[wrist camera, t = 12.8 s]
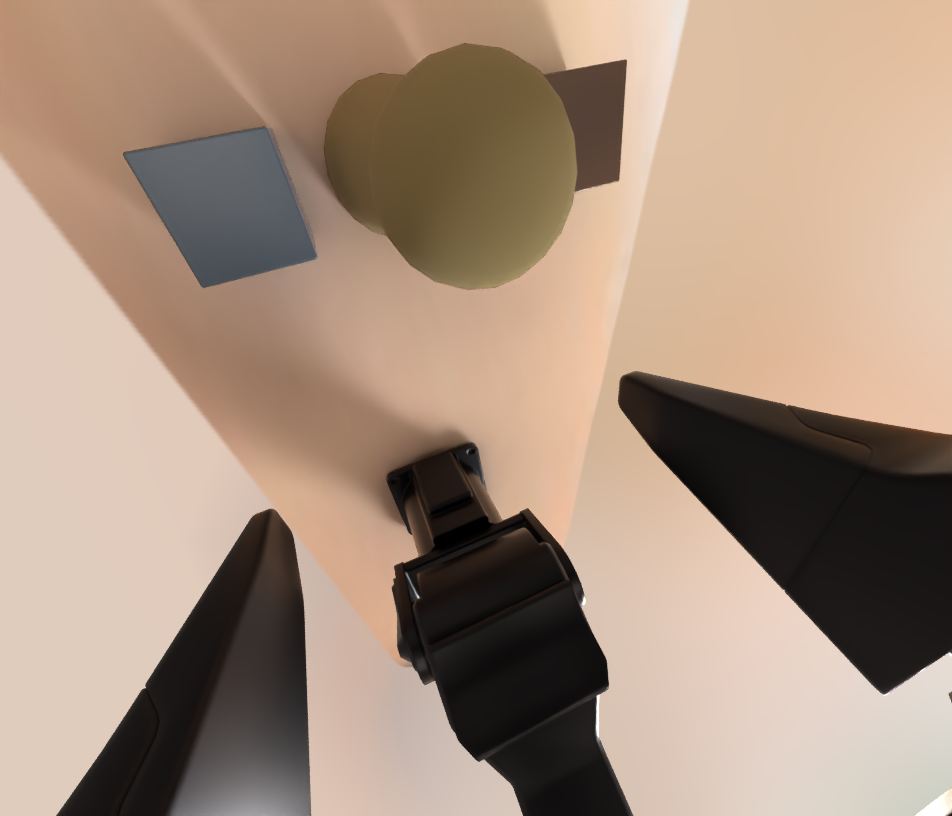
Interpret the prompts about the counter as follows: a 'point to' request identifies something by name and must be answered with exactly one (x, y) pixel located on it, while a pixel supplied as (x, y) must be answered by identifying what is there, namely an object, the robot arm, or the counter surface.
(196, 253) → the slate block
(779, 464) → the robot arm
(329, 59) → the counter surface
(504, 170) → the cork
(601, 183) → the walnut block
